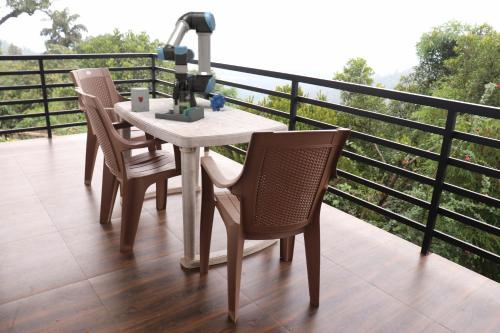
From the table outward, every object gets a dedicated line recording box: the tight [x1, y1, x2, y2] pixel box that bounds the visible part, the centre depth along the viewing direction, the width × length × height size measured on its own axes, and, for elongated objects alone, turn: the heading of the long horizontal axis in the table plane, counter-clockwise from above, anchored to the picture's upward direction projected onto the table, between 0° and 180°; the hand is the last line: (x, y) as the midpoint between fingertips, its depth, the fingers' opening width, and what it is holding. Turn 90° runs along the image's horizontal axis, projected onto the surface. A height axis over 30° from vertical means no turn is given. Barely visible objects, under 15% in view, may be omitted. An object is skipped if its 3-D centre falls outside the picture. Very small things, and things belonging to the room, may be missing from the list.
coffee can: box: [172, 90, 190, 115], centre depth 252 cm, size 10×10×14 cm
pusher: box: [183, 107, 197, 116], centre depth 252 cm, size 2×13×6 cm, turn 158°
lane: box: [154, 106, 205, 123], centre depth 254 cm, size 25×17×7 cm
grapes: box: [209, 93, 227, 112], centre depth 284 cm, size 12×7×12 cm, turn 113°
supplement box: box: [130, 87, 150, 113], centre depth 273 cm, size 9×9×15 cm
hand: (181, 109), depth 253 cm, fingers open, 10 cm apart
